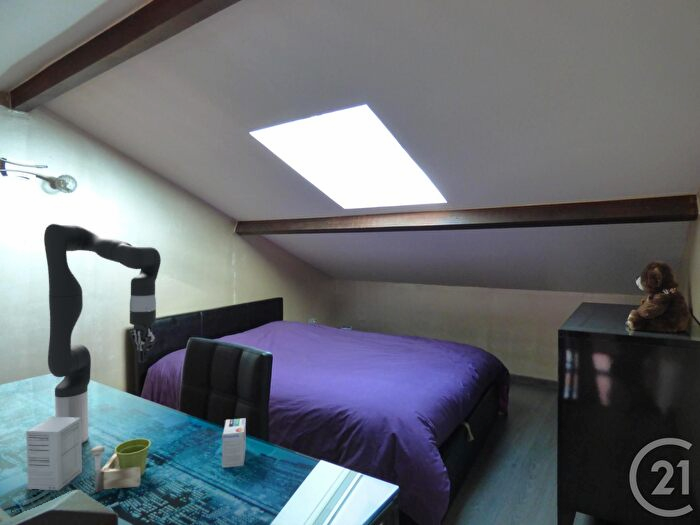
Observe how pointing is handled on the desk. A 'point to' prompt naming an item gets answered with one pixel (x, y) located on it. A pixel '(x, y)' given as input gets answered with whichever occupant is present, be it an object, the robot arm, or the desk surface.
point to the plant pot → (133, 454)
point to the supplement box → (54, 453)
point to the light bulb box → (234, 443)
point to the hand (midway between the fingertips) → (142, 361)
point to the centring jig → (113, 472)
